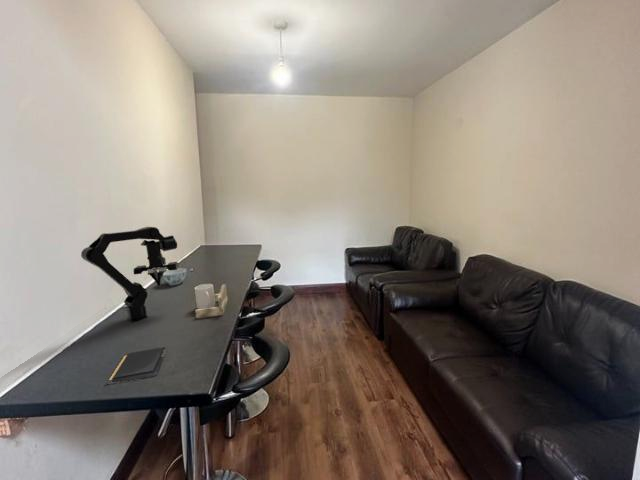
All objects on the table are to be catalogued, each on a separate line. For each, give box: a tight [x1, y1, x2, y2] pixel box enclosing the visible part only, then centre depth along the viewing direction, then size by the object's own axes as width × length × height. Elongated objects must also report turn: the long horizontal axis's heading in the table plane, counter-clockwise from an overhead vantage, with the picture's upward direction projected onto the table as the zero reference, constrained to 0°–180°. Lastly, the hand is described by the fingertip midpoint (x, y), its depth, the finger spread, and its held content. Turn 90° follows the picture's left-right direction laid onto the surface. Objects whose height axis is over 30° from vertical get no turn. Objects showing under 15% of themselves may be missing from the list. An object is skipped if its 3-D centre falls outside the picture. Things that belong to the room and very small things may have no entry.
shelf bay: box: [194, 283, 228, 319], centre depth 159 cm, size 12×21×8 cm, turn 10°
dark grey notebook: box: [108, 346, 167, 383], centre depth 112 cm, size 20×2×15 cm
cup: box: [194, 283, 216, 309], centre depth 159 cm, size 8×12×10 cm
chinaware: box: [162, 267, 187, 286], centre depth 206 cm, size 15×15×8 cm
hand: (159, 285), depth 161 cm, fingers closed
